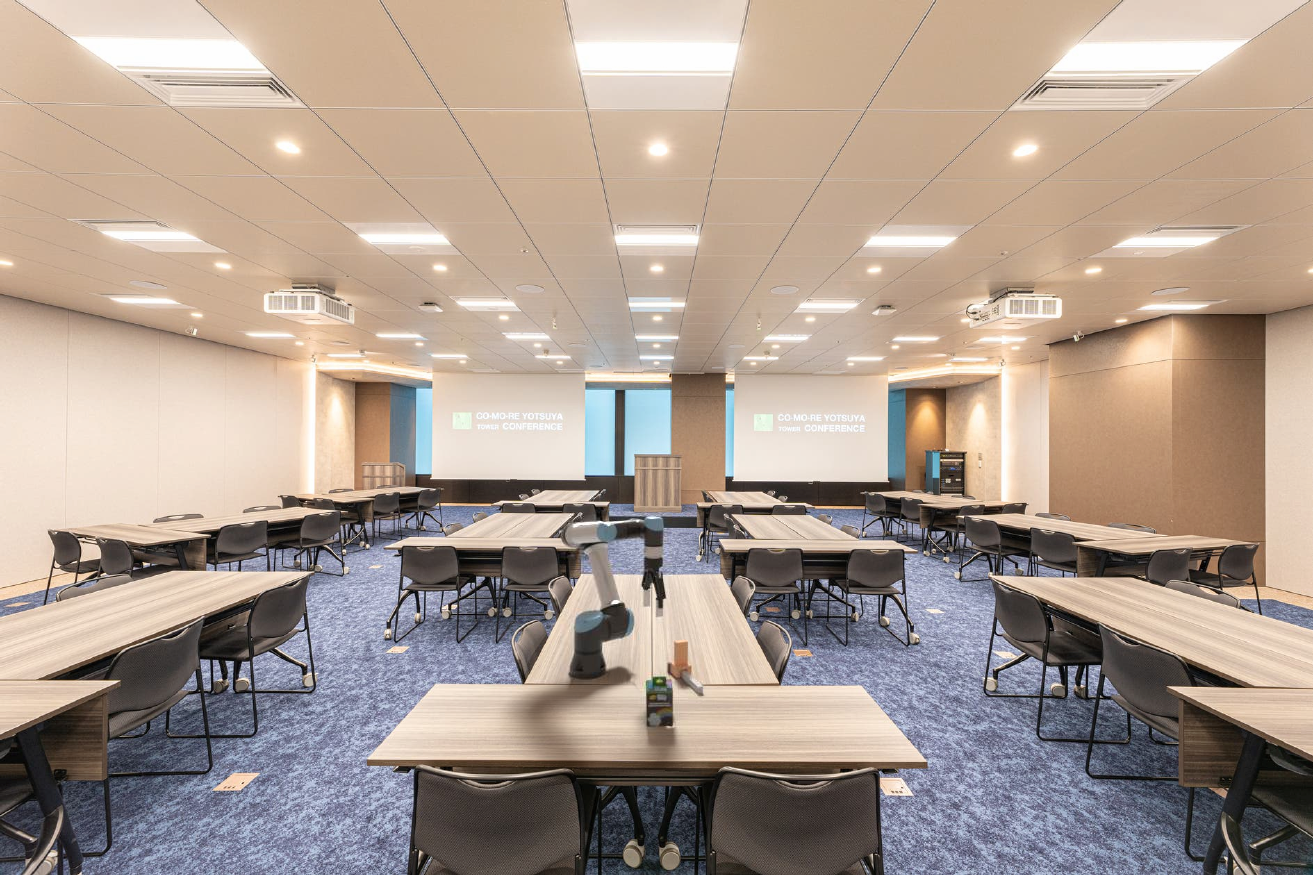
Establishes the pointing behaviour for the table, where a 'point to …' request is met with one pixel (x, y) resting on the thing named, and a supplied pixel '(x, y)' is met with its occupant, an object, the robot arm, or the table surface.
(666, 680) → the chalk box
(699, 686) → the rail
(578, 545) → the robot arm
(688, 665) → the slider
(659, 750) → the table surface
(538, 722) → the table surface
